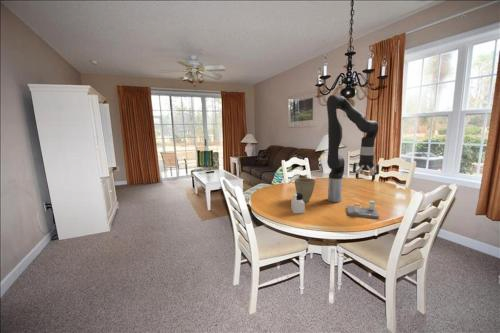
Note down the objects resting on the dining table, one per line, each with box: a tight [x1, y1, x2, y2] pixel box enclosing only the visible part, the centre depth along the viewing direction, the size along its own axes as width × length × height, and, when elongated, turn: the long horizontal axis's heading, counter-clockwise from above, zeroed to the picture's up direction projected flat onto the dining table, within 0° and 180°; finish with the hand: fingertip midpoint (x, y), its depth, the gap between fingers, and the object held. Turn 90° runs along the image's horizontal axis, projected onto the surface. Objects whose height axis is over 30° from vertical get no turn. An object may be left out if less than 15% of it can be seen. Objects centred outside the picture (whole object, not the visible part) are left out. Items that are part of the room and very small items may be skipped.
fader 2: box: [368, 200, 376, 210], centre depth 135 cm, size 2×3×5 cm
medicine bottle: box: [290, 192, 306, 214], centre depth 139 cm, size 7×7×12 cm
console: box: [346, 205, 380, 220], centre depth 135 cm, size 16×13×2 cm
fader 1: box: [354, 202, 361, 213], centre depth 132 cm, size 2×3×5 cm
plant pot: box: [294, 177, 316, 203], centre depth 160 cm, size 15×15×16 cm
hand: (364, 179), depth 134 cm, fingers open, 8 cm apart
